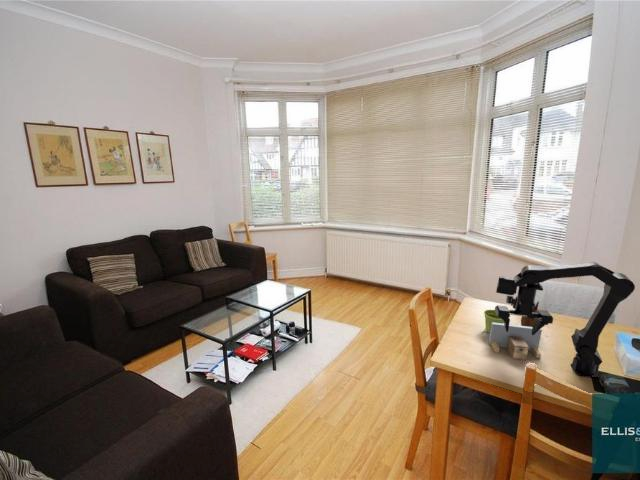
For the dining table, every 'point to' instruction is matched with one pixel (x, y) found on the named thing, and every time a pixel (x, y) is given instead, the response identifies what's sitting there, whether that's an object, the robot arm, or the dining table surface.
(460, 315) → the dining table surface
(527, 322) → the wooden figurine
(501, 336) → the grey toy bench
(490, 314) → the plant pot
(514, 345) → the cabinet block
